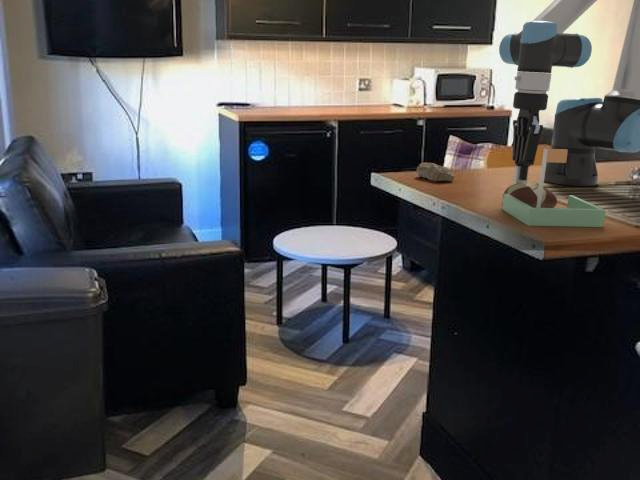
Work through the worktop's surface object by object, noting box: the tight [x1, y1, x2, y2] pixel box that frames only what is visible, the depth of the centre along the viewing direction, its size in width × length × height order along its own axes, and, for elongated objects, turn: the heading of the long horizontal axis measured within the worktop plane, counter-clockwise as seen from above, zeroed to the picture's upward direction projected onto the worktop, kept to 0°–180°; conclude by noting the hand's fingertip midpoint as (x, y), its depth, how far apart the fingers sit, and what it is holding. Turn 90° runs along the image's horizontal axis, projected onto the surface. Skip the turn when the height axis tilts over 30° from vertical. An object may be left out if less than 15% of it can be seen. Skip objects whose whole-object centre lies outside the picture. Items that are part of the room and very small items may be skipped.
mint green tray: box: [501, 148, 607, 228], centre depth 143 cm, size 16×15×16 cm
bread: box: [502, 182, 558, 208], centre depth 156 cm, size 11×11×5 cm
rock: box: [416, 162, 455, 183], centre depth 187 cm, size 8×11×4 cm
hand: (518, 192), depth 162 cm, fingers closed
